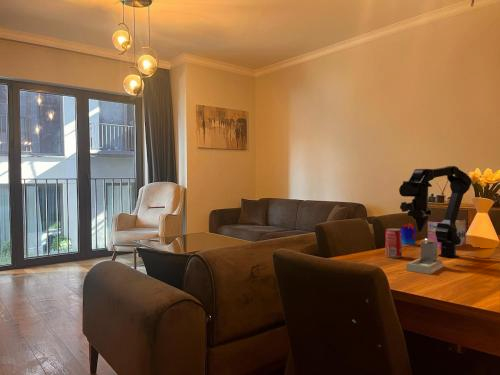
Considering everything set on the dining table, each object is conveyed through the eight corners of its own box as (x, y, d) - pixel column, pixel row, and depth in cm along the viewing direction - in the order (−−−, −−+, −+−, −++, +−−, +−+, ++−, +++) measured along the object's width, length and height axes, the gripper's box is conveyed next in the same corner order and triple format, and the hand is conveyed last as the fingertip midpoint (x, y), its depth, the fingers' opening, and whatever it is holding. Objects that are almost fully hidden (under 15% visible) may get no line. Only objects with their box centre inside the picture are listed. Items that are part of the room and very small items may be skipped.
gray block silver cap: (424, 260, 165) (424, 237, 165) (437, 262, 162) (437, 238, 161) (420, 262, 161) (420, 238, 161) (433, 264, 158) (433, 240, 158)
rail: (421, 263, 168) (421, 256, 168) (443, 266, 162) (443, 259, 162) (406, 270, 155) (406, 263, 155) (429, 274, 149) (430, 267, 149)
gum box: (454, 242, 220) (454, 218, 220) (467, 244, 213) (468, 220, 213) (426, 246, 208) (427, 221, 208) (440, 248, 202) (440, 222, 201)
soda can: (403, 258, 177) (403, 230, 177) (386, 258, 179) (386, 230, 178) (400, 255, 184) (400, 228, 184) (384, 255, 186) (384, 228, 185)
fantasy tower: (392, 244, 216) (392, 222, 216) (409, 242, 220) (409, 221, 220) (406, 247, 205) (406, 225, 205) (424, 246, 209) (425, 224, 208)
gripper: (408, 195, 186) (407, 228, 187) (396, 196, 172) (394, 231, 172) (433, 196, 180) (432, 230, 180) (422, 197, 165) (421, 234, 165)
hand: (419, 231), depth 174 cm, fingers closed
